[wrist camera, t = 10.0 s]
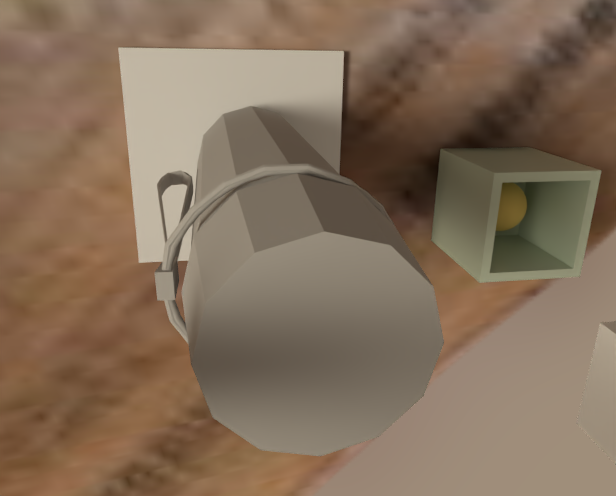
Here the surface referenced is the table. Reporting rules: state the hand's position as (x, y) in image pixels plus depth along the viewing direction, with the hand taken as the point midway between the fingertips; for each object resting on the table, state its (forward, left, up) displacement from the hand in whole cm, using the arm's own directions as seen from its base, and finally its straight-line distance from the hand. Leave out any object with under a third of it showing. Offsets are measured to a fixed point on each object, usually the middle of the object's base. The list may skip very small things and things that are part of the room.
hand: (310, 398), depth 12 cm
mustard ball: (+3, +18, -27) cm, 32 cm away
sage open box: (+3, +18, -28) cm, 33 cm away
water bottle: (0, 0, -28) cm, 28 cm away
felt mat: (0, 0, -28) cm, 28 cm away
